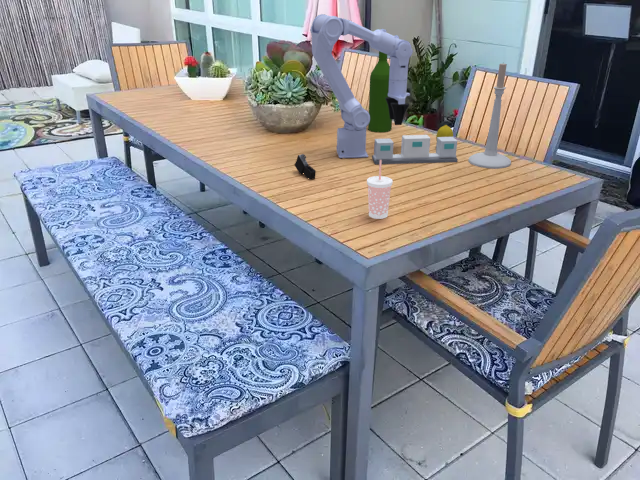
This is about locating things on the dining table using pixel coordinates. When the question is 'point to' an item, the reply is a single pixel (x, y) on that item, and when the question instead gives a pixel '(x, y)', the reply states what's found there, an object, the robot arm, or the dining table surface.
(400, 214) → the dining table surface
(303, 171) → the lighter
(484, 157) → the candlestick
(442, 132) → the lemon
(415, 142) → the block
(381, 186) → the beverage cup
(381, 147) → the board
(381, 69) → the wine bottle
